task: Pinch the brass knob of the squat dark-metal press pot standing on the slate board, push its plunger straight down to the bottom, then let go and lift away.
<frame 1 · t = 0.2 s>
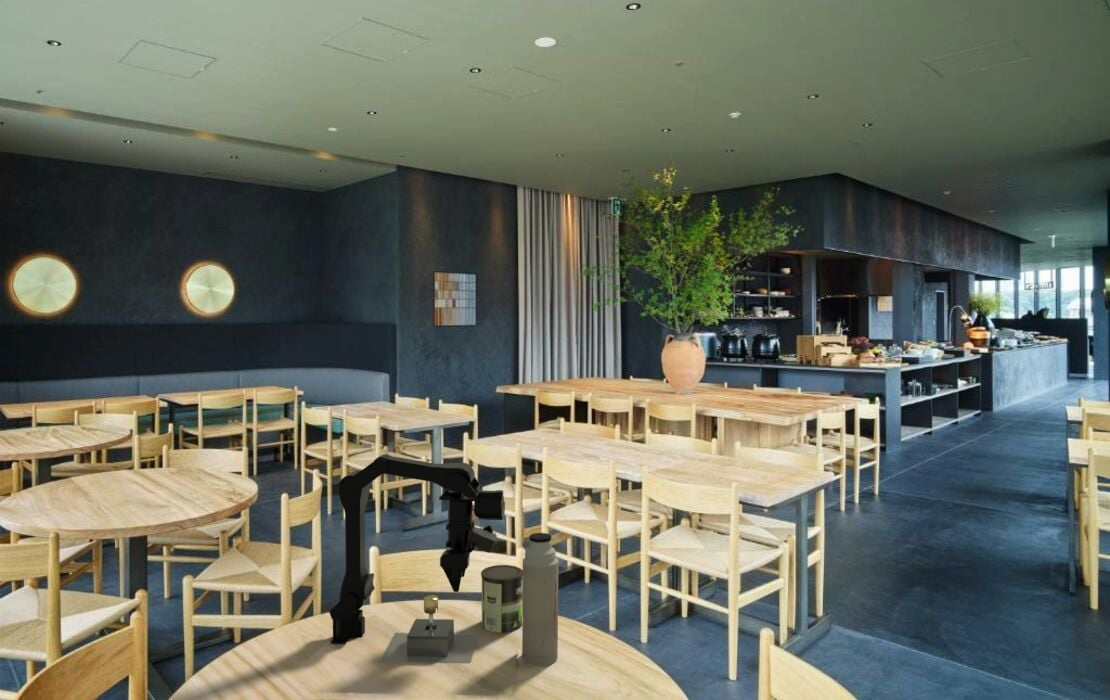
hand: (459, 584, 168), 14 cm above the table, fingers open, 9 cm apart
plunger: (431, 615, 163), point 8 cm above the table, slide at 0.0 cm
press pot: (431, 647, 164), resting on slate board
thermos bottle: (539, 658, 161), on the table
coffee can: (501, 628, 177), on the table
slate board: (431, 651, 164), on the table
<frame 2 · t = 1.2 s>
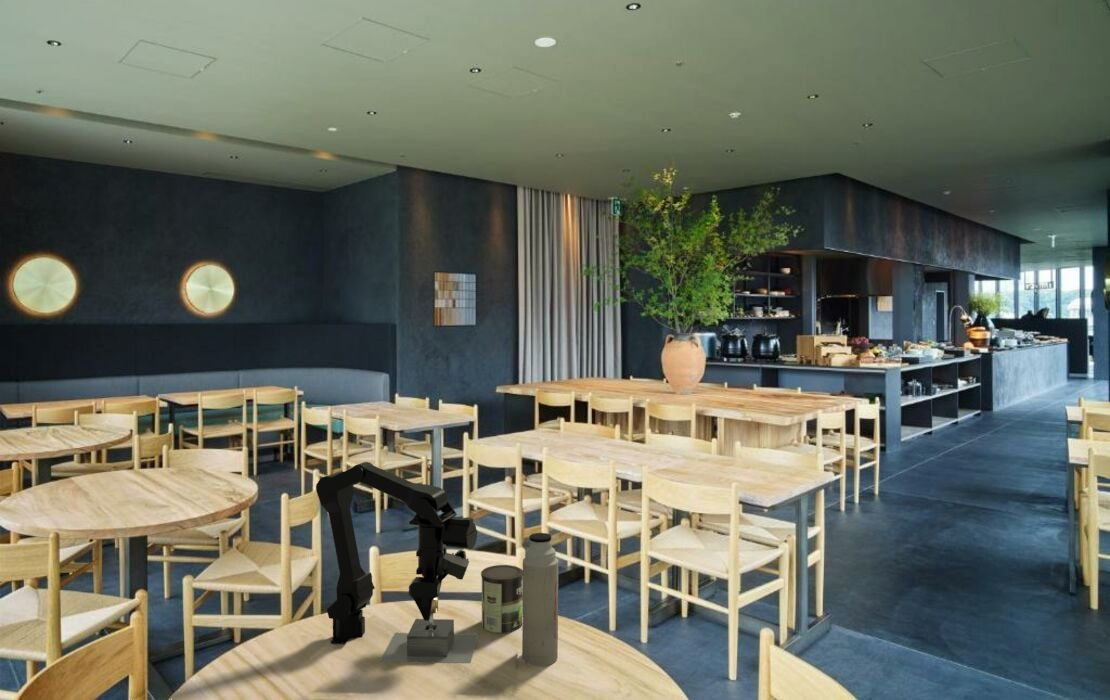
hand: (430, 611, 163), 9 cm above the table, fingers open, 9 cm apart
nothing on the table moved.
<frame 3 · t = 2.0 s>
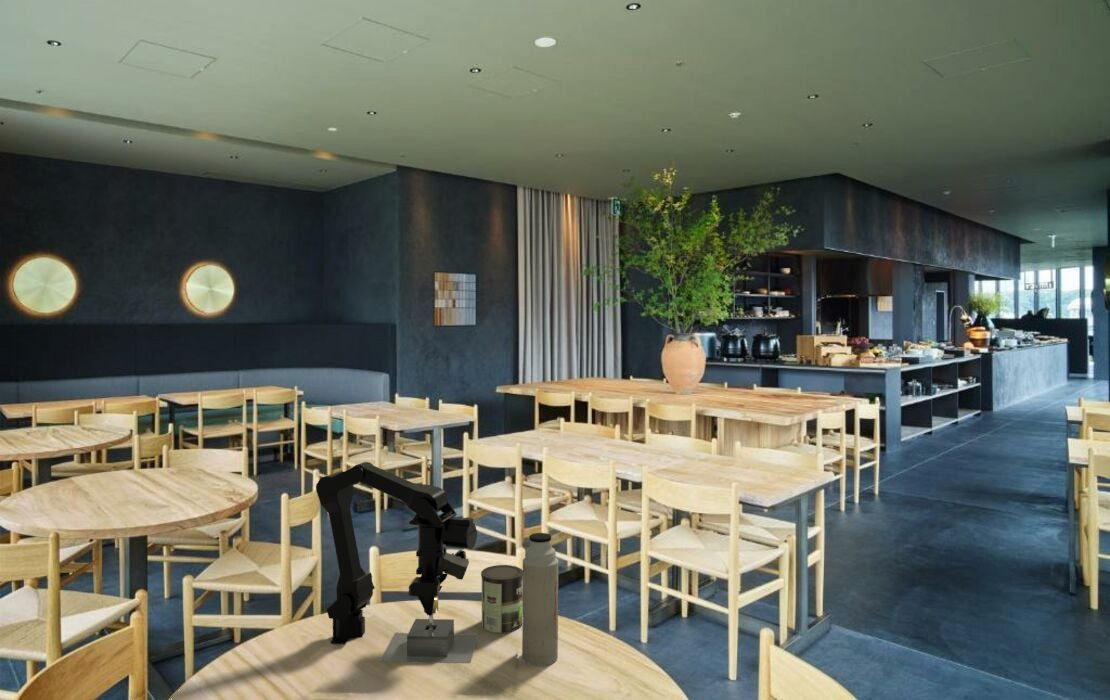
hand: (430, 611, 163), 9 cm above the table, fingers closed on plunger, 3 cm apart
plunger: (431, 615, 163), point 8 cm above the table, slide at 0.0 cm, touching gripper
everything else where it was.
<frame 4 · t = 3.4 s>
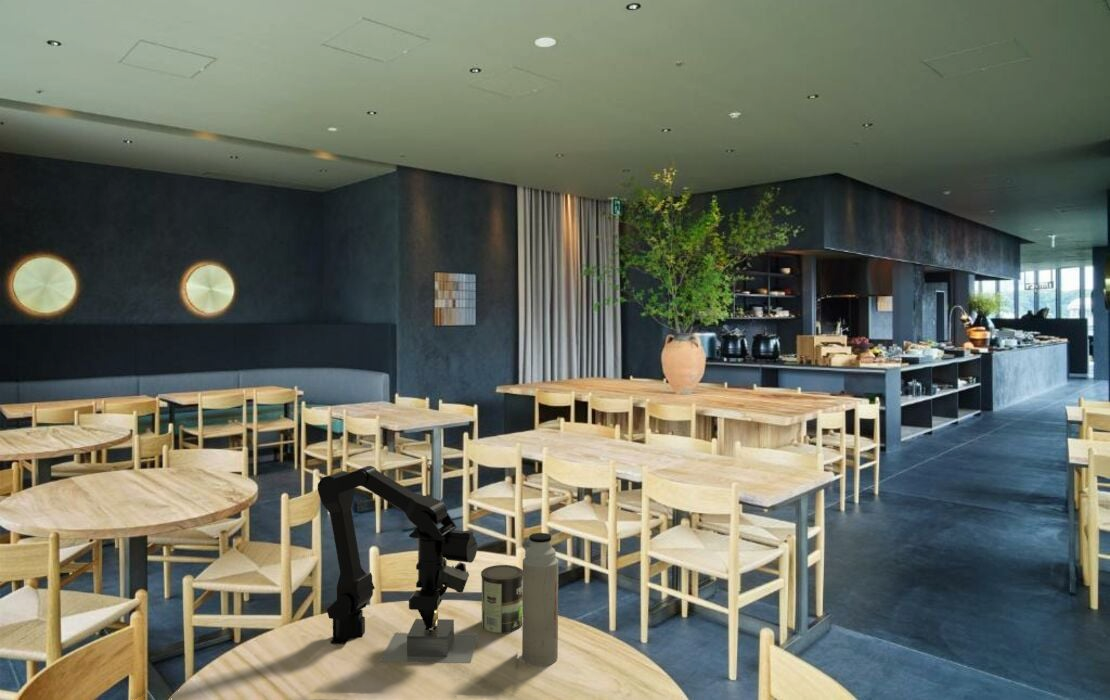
hand: (430, 624, 163), 6 cm above the table, fingers closed on plunger, 3 cm apart
plunger: (431, 628, 164), point 5 cm above the table, slide at 3.0 cm, touching gripper
everything else where it was.
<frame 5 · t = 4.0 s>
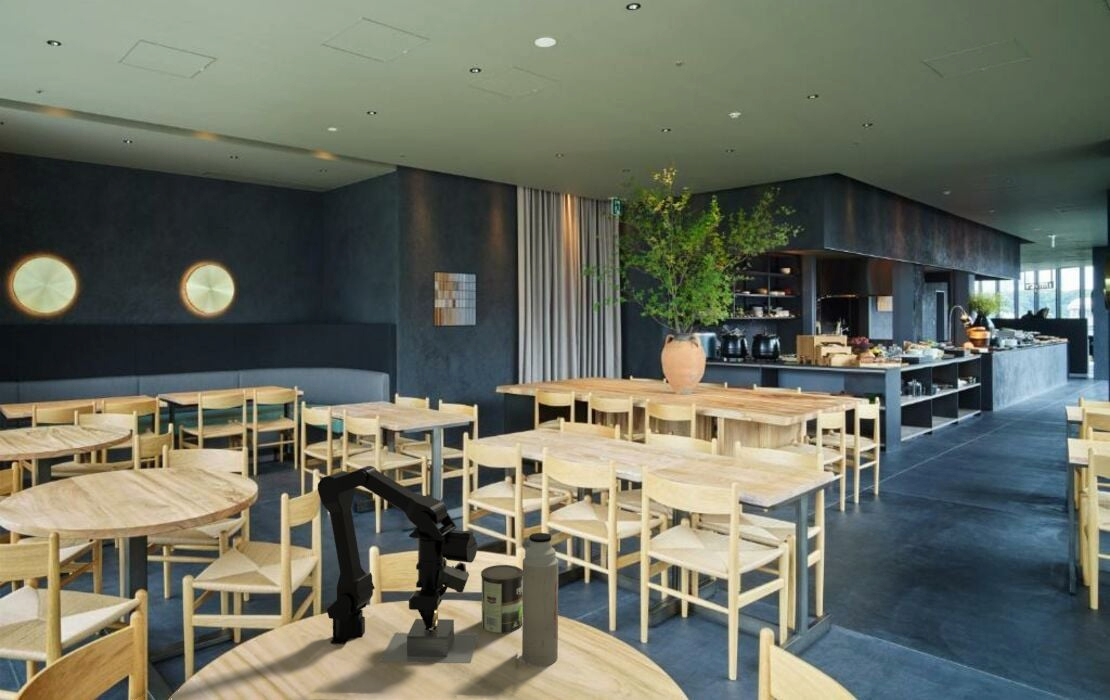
hand: (430, 624, 163), 6 cm above the table, fingers closed on plunger, 3 cm apart
plunger: (431, 628, 164), point 5 cm above the table, slide at 3.0 cm, touching gripper
everything else where it was.
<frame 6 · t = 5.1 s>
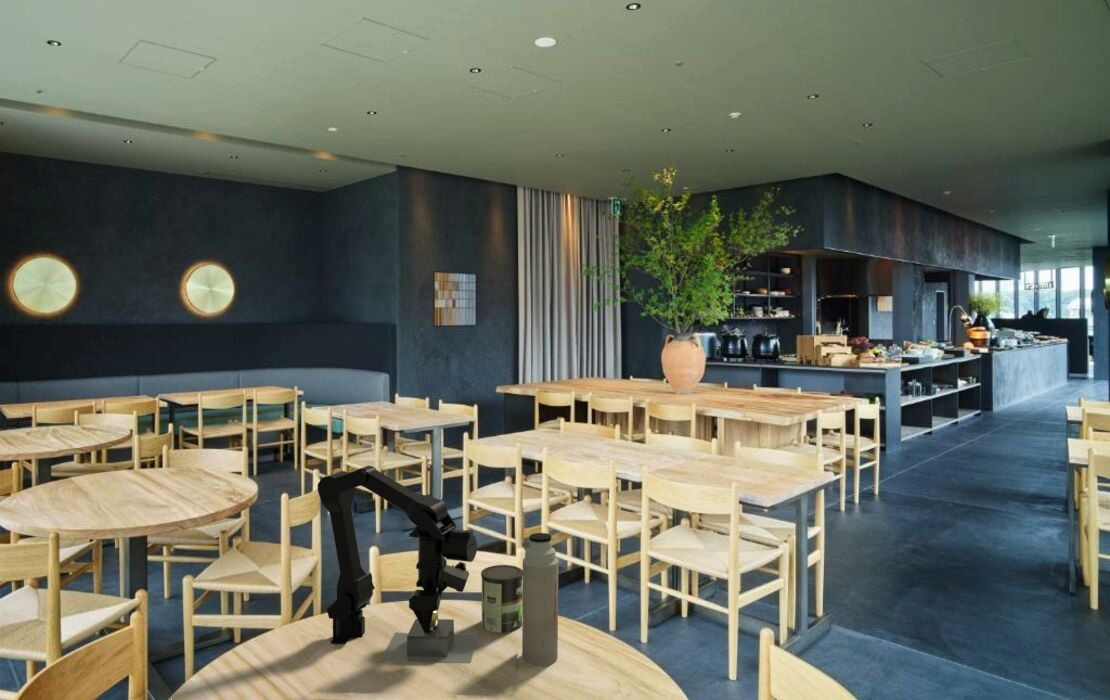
hand: (431, 623, 163), 6 cm above the table, fingers open, 9 cm apart
plunger: (431, 628, 164), point 5 cm above the table, slide at 3.0 cm
everything else where it was.
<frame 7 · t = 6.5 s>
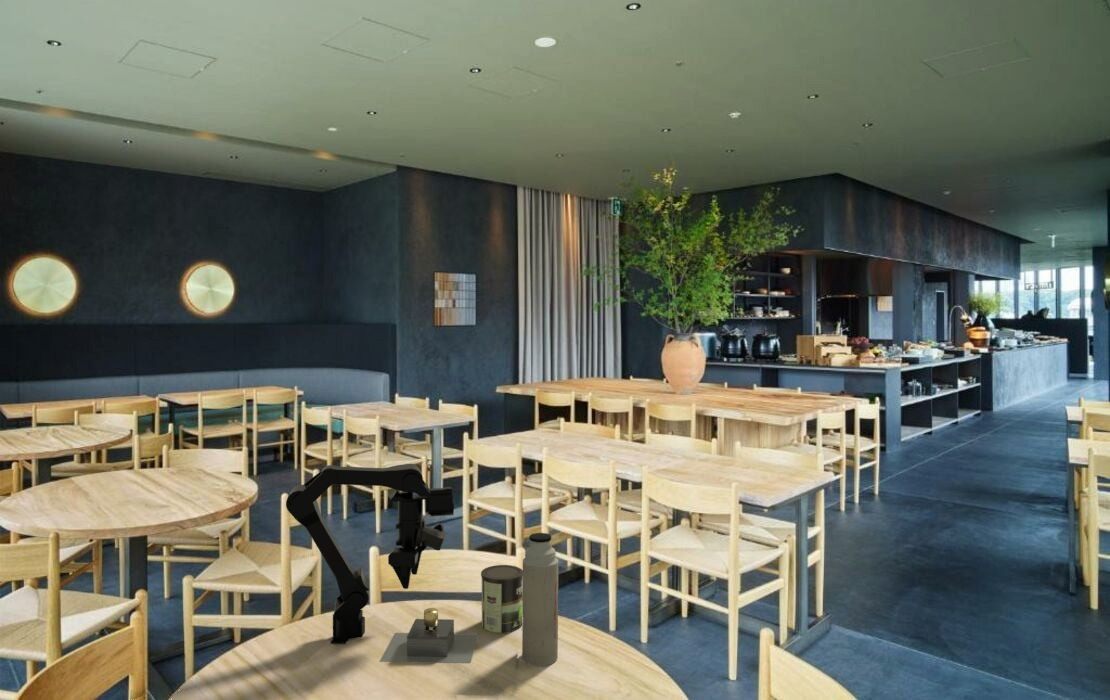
hand: (410, 581, 173), 12 cm above the table, fingers open, 9 cm apart
nothing on the table moved.
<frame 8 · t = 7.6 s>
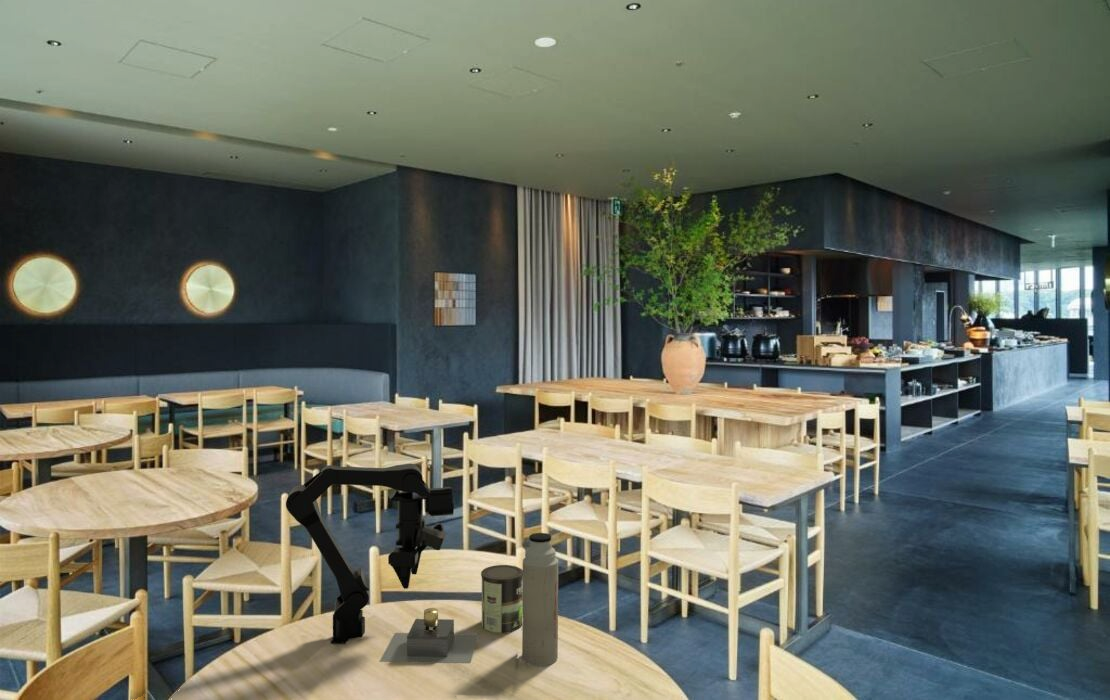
hand: (410, 581, 173), 13 cm above the table, fingers open, 9 cm apart
nothing on the table moved.
at the end: plunger slide at 3.0 cm; the gripper is holding nothing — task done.
